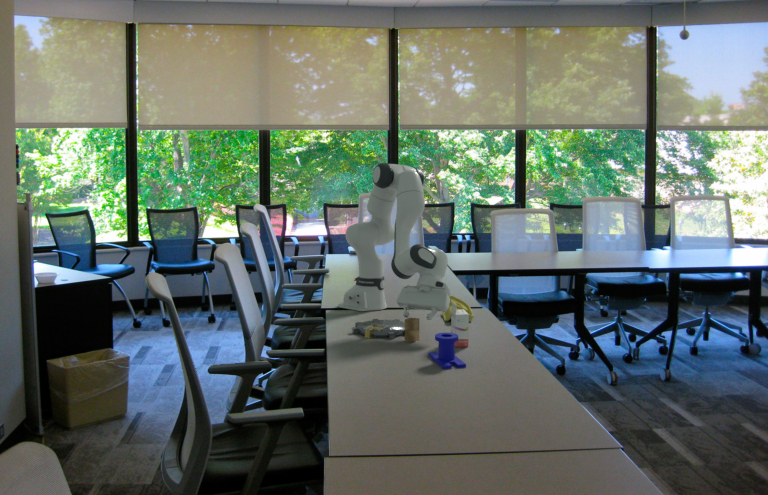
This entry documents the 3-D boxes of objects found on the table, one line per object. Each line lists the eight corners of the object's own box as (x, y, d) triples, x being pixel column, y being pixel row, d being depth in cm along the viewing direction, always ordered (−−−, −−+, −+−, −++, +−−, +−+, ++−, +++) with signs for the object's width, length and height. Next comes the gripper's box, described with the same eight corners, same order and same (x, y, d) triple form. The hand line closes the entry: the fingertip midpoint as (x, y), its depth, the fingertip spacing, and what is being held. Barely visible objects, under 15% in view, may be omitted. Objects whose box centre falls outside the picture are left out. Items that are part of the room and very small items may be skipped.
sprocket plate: (340, 334, 234) (340, 326, 234) (371, 320, 255) (371, 313, 255) (395, 342, 223) (395, 334, 222) (424, 327, 244) (424, 320, 243)
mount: (428, 356, 207) (428, 330, 206) (449, 354, 209) (449, 329, 208) (443, 369, 192) (443, 342, 191) (466, 367, 194) (466, 340, 193)
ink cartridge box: (469, 347, 217) (469, 305, 215) (455, 347, 216) (455, 306, 214) (463, 340, 225) (464, 300, 223) (450, 340, 225) (450, 301, 223)
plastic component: (474, 317, 251) (452, 306, 251) (466, 332, 253) (444, 322, 252) (468, 303, 271) (448, 293, 270) (460, 317, 272) (440, 308, 271)
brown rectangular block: (404, 341, 225) (404, 319, 224) (409, 338, 228) (409, 317, 227) (414, 342, 223) (414, 320, 222) (419, 339, 226) (419, 318, 225)
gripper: (400, 280, 237) (389, 310, 230) (450, 284, 227) (439, 315, 220) (406, 290, 242) (394, 319, 234) (454, 294, 232) (444, 325, 224)
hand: (416, 317), depth 227 cm, fingers open, 8 cm apart
